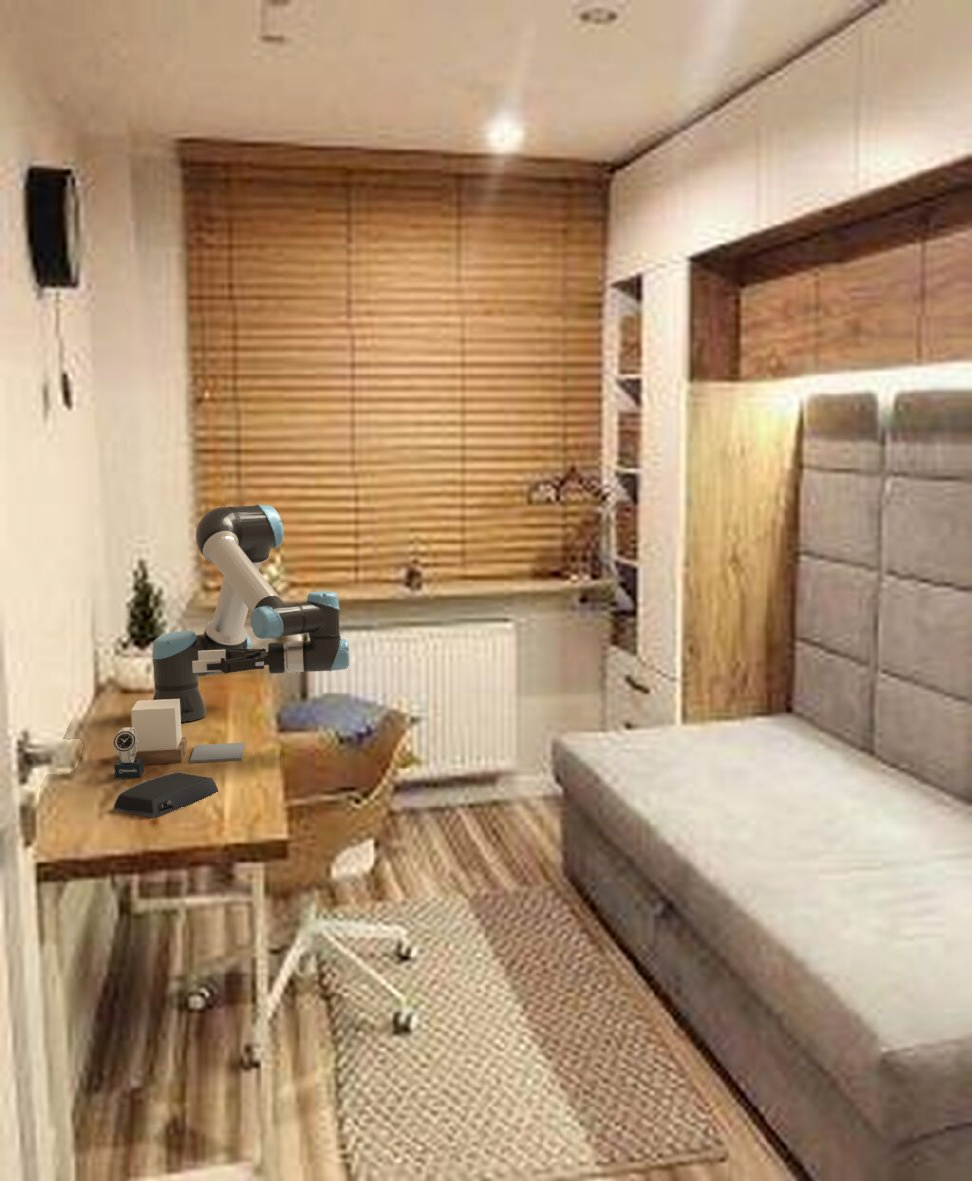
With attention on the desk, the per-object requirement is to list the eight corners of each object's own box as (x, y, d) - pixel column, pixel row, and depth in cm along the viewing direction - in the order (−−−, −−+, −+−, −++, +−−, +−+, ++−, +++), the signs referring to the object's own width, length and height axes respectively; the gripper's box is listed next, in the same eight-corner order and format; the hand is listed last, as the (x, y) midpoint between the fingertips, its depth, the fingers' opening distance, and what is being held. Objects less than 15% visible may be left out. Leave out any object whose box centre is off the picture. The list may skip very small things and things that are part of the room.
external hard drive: (109, 811, 231) (108, 792, 231) (176, 786, 248) (175, 768, 248) (156, 821, 225) (155, 801, 225) (221, 794, 242) (221, 775, 241)
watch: (112, 780, 251) (110, 733, 250) (121, 770, 259) (118, 724, 258) (138, 780, 251) (135, 732, 250) (146, 769, 259) (143, 723, 258)
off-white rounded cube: (139, 740, 274) (137, 700, 272) (181, 738, 275) (179, 698, 274) (133, 751, 264) (131, 710, 263) (176, 749, 265) (174, 708, 264)
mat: (195, 747, 278) (195, 745, 278) (244, 744, 280) (244, 742, 280) (189, 763, 264) (189, 760, 264) (241, 760, 266) (241, 757, 266)
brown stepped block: (136, 751, 275) (135, 727, 274) (186, 748, 277) (185, 725, 276) (129, 765, 263) (127, 740, 262) (181, 762, 265) (180, 737, 264)
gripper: (284, 683, 260) (190, 687, 256) (286, 663, 284) (201, 667, 281) (283, 651, 259) (189, 655, 256) (285, 634, 283) (199, 637, 280)
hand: (195, 661), depth 268 cm, fingers open, 13 cm apart
